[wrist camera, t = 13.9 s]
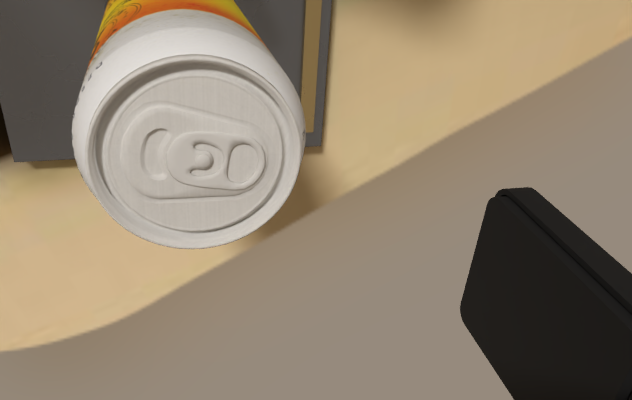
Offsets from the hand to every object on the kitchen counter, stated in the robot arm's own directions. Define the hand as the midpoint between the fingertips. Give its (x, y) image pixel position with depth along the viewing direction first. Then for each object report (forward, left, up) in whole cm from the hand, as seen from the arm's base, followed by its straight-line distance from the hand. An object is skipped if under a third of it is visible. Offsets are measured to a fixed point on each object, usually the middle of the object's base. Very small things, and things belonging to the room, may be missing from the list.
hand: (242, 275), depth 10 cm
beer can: (0, 0, -20) cm, 20 cm away
